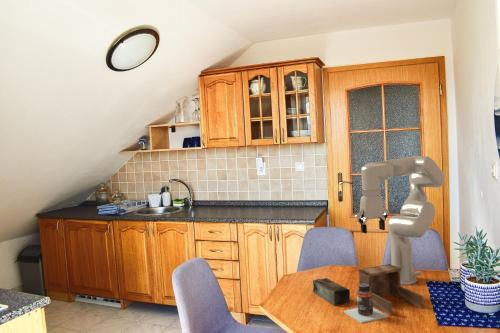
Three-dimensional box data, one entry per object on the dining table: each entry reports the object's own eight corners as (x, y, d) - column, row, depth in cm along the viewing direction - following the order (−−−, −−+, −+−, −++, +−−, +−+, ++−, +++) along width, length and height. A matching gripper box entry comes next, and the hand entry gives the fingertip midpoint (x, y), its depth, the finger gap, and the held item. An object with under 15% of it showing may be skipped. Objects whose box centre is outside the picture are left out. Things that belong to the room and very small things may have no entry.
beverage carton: (327, 290, 202) (327, 276, 201) (351, 303, 184) (350, 288, 183) (312, 292, 199) (312, 278, 199) (334, 307, 181) (334, 291, 181)
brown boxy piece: (390, 292, 193) (389, 264, 192) (422, 307, 174) (421, 276, 174) (360, 298, 188) (358, 269, 187) (390, 315, 169) (388, 282, 168)
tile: (368, 306, 178) (368, 305, 178) (387, 317, 167) (387, 315, 167) (343, 312, 174) (343, 310, 174) (361, 323, 163) (361, 321, 163)
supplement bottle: (373, 310, 173) (372, 282, 172) (372, 316, 167) (371, 287, 166) (358, 309, 175) (357, 282, 174) (356, 315, 169) (355, 287, 168)
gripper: (381, 190, 198) (383, 227, 200) (349, 194, 192) (352, 232, 193) (392, 191, 191) (394, 229, 193) (359, 196, 185) (362, 235, 186)
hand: (373, 231), depth 193 cm, fingers open, 9 cm apart
